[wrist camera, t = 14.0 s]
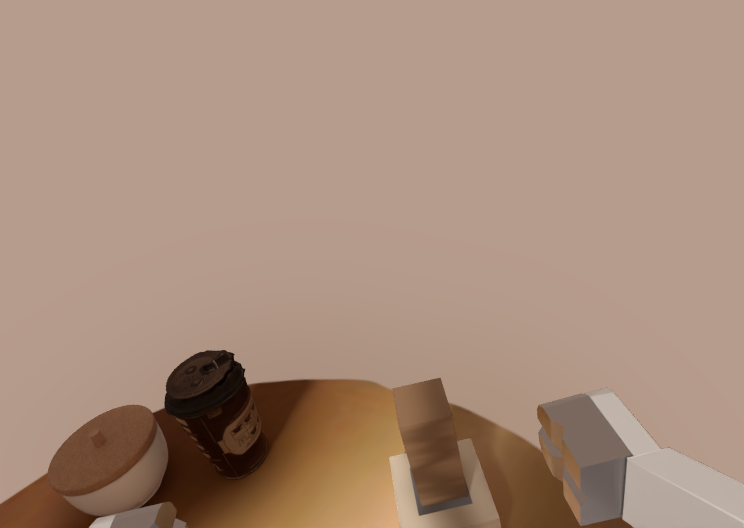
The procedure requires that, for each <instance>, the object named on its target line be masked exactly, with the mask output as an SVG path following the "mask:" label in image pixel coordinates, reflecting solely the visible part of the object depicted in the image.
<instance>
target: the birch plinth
mask: <svg viewBox="0 0 744 528" xmlns="http://www.w3.org/2000/svg"><path fill="white" fill-rule="evenodd" d="M457 443H458V448H459V453H460V458H461V463H462V468H463V473H464V478H465V483H466V488H467V493H468V497H464V498H459V499H455V500H450V501H445V502H441V503H436V504H432V505H427V506H423V507H422V505H421V502H420V499H419V495H418V492H417V488H416V485H415V481H414V478H413V474H412V471H411V468H410V464H409V461H408V457H407V454H406V453H404V454H400V455H396V456H391V457H389V460H390V466H391V472H392V479H393V485H394V492H395V498H396V505H397V511H398V518H399V524H400V528H501V523H500V518H499V515H498V512H497V509H496V507H495V504H494V501H493V498H492V495H491V493H490V490H489V487H488V484H487V482H486V479H485V476H484V473H483V470H482V468H481V465H480V462H479V459H478V456H477V454H476V451H475V448H474V445H473V443H472V440H471V438H467V439H463V440H459V441H457Z"/></svg>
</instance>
